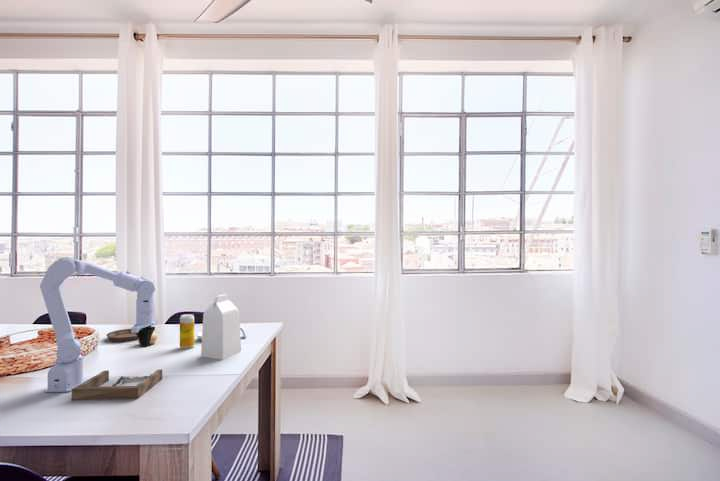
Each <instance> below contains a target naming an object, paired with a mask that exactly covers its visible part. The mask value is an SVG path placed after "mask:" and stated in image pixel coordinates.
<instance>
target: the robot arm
mask: <svg viewBox="0 0 720 481" xmlns="http://www.w3.org/2000/svg"><path fill="white" fill-rule="evenodd" d="M75 272H76V275H83V274H89V275H92V276H95V277H99V278H102V279H105V280H109V281H110V282H112V283H113V285H114V286H115V287H118V288H121V289H122V290H123V289H124V290H127V291H130V292H136V299H135V300H136V302H135V304H136V305H135V306H136V307H135V308H136V310H135V312H136V314H135V316H136V318H135V324H134V325H133V326H132V327H131V328H130V329H131V333H136V335H137V336H138V339H139V341H140V344H139V345H140V347H141V348H148V347H149V346H150V339H151V336H152V333H153V332H154V331H155V330H156V326H155V325H157V324H158V318H154V317H155V313H154V311H155V310H154V309H155V303H154V302H155V301H154V300H155V299H154V292H155V291H156V287H155V285H154V283H153V282H152V281H151V280H149V279H147V278H144V277H143V276H137V275H134V274H132V273H131V271H129V270H126V271H123V270H122V271H119V272H115V271H112V270H109V269H108V268H104V267H102V266H99V265H96V264H94V263H92V262H88V261H85V260H81V259H74V258H72V257H68V256H65V257H61V258H58V259H57V260H55V261H54V262H53V263H51V265H50V266H48V268H47V270H46V272H45V274H44V276H43V278H42V281H41V282H40V285H39V287H40V288H39V289H40V292H41V295H42V297H43V300H44V303H45V306H46V310H47V313H48V317H49V319H50V322H51V326H52V329H53V331H54V335H55V341H56V346H57V351H56V359H55V363H54V365H53V366H52V367H50V369H49V370H48V372H47V389H46V390H44V392H45V393H60V392H61V393H65V392H67V393H68V392H72V389H73V388H75V387H76V386H78V385H80V384H82V383H83V382H85V381H87V380H89V379H90V378H84V371H83V370H84V365H83V364H84V356H83V354H81V352H82V346H83V345H82V344H83V343H82V342H81V340H80V338H78V337H77V336H76V333H75V331H74V330H73V327H72V322H71V319H70V317H69V313H68V311H67V307H66V304H65V301H64V297H63V294H62V290H61V288H60V286H62V284H63V283H64V282H65V280H67V279H68V278H69V277H71V276H72V275H74V274H75ZM138 339H137V340H138Z"/></svg>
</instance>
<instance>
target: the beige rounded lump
mask: <svg viewBox="0 0 720 481" xmlns="http://www.w3.org/2000/svg"><path fill="white" fill-rule="evenodd" d="M157 339H158V335H157V333H156V332H154V331H153V333H152V336H151V339H150V343H149V345H153V344H154V343H156V341H157ZM137 341H138V342H137V343H138V344H139V345H140V341H139V339H137Z"/></svg>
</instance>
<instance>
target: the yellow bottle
mask: <svg viewBox="0 0 720 481" xmlns="http://www.w3.org/2000/svg"><path fill="white" fill-rule="evenodd" d="M194 346H195V316H194V314H192V313H191V314H190V313H188V314H186V313H185V314H182V315H180V317H179V347H180V349H181V350H187V349H188V350H189V349H192V348H194Z"/></svg>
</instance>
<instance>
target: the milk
mask: <svg viewBox="0 0 720 481" xmlns="http://www.w3.org/2000/svg"><path fill="white" fill-rule="evenodd" d="M228 294H229V293H228ZM228 294H227V293H223V294H220V295H216V296H215V298H214V300H213V303H212V304H210V306H209V307H208V308H207V309H206V310H205V311H204V312H203V314H202V331H201V332H202V340H201V350H200V351H201V352H200V357H202V358H210V359H216V360H217V359H218V360H222V361H223V360H225V359H227V358H229V357H231V356H235V355H236V354H239V353H240V352H242V342H241V330H240V323H241V322H240V311H239V309H238V308H237V306H235V304H234V303H233V302H232V301H231V300H230V298H229V295H228Z"/></svg>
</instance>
